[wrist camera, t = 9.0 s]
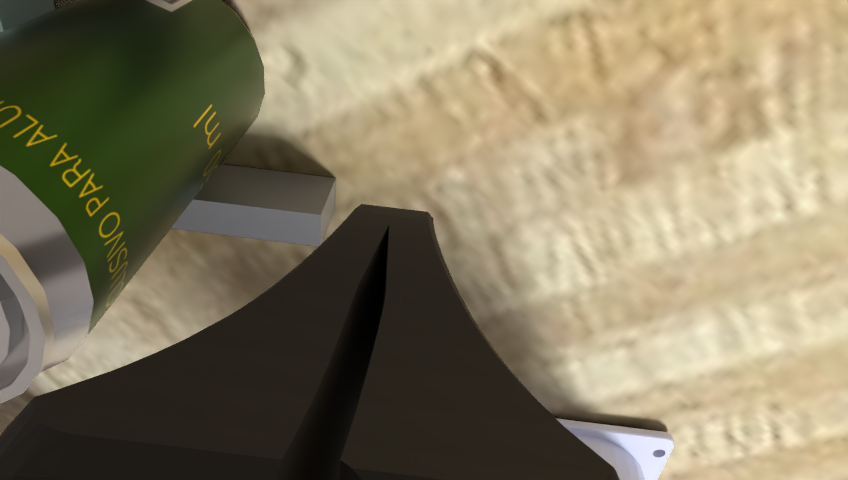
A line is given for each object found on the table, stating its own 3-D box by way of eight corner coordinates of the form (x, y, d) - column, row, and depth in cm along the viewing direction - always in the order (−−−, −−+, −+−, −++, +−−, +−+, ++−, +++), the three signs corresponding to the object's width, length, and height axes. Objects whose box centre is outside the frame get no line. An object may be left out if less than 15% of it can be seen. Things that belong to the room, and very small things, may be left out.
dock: (335, 207, 22) (320, 246, 20) (59, 174, 22) (15, 209, 20) (342, -110, 17) (324, -102, 15) (-23, -154, 17) (-95, -152, 15)
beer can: (75, -27, 18) (-410, 140, 8) (253, -35, 18) (-33, 132, 8) (131, 142, 21) (-178, 416, 11) (285, 139, 21) (107, 422, 11)
